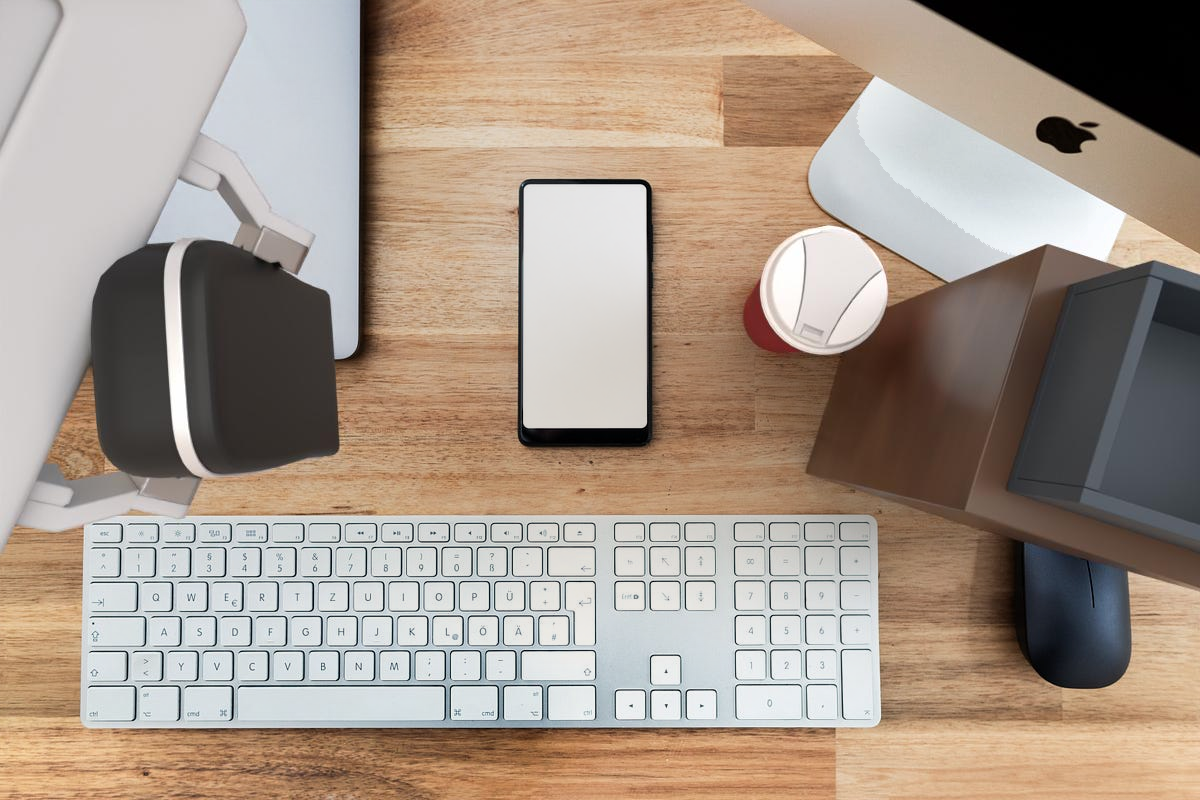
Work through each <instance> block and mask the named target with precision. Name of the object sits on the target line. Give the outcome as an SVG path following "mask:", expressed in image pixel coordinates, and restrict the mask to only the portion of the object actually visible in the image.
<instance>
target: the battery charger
mask: <svg viewBox="0 0 1200 800" xmlns="http://www.w3.org/2000/svg"><path fill="white" fill-rule="evenodd" d="M332 315H333V314H332V302H331V296H330V294H329V292H328V291H327V290H325V289H322V288H319V287H317V286H314V285H312V284H310V283H307V282H305V281H303V280H301V279H299V278H298V277H296V276H295V275H294V274H292V273H291V272H288V271H286V270H284V269H282V268H280V267H277V266H275V265H273V264H271V263H269V262H267V261H265V260H262V259H260V258H258V257H256V256H254V255H252V254H251V253H250V252H249V251H246V250H244V249H242V248H239V247H237V246H234V245H232V244H231V243H229V242H226V241H223V240H215V239H210V238H205V237H201V236H199V237H198V236H197V237H196V236H195V237H193V236H192V237H182V238H180V239H178V240H176V241H167V242H156V243H155V242H154V243H147V245H146V246H145V247H143V248H139V249H138V250H136V251H134V252H132V253H130V254H128V255H126V256H123V257H121V258H120V259H118V260H117V261H116V262H115V263H113V264H112V265H111V266H110V267H109V268H108V269H107V270H106V271H105V272H104V273H103V274H102V275H101V277H100V279H99V282H98V285H97V288H96V291H95V294H94V297H93V302H92V318H91V352H92V362H91V368H92V369H91V370H92V383H93V395H94V396H93V397H94V409H95V424H96V431H97V438H98V443H99V444H100V449H101V451H102V453H103V454H104V456H105V457H106V459H107V460H108V462H110V464H111V465H112V466H114V467H115V468H116V469H118V470H119V471H122V472H125V473H127V474H130V475H133V476H138V477H144V478H174V477H188V476H199V477H203V478H204V479H205V478H206V479H216V478H231V477H240V476H247V475H254V474H259V473H264V472H267V471H271V470H274V469H275V470H276V469H279V468H282V467H285V466H288V465H290V464H293V463H294V464H295V463H297V462H302V461H308V460H309V461H310V460H311V461H313V460H322V459H324V458H325V457H333V456H335V455H336V454H338V453H339V451H340V447H341V446H340V445H341V443H340V426H339V424H340V423H339V408H338V406H339V405H338V392H337V391H338V390H337V375H336V373H337V372H336V359H335V358H336V357H335V345H334V343H335V342H334V329H333V316H332Z"/></svg>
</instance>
